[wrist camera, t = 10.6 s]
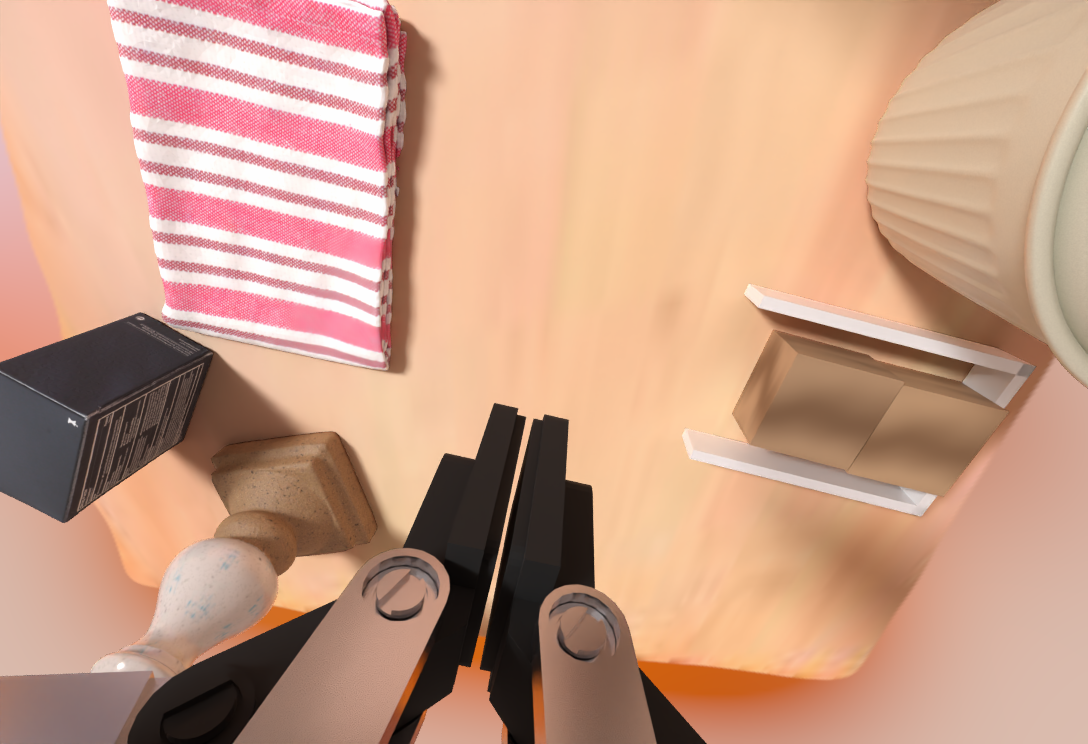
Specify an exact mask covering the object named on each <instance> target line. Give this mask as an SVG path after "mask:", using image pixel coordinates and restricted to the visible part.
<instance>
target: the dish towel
mask: <svg viewBox="0 0 1088 744" xmlns="http://www.w3.org/2000/svg"><path fill="white" fill-rule="evenodd" d="M107 3H108V6H109V10H110V14H111V23H112V28H113V32H114V36H115V39H116V43H117V45H118V49H119V57H120V60H121V65H122V68H123V71H124V74H125V78H126V82H127V86H128V93H129V99H130V106H131V110H130V119H131V124H132V128H133V133H134V144H135V148H136V153H137V157H138V159H139V162H140V170H141V174H142V179H143V182H144V185H145V188H146V193H147V199H148V205H149V213H150V214H149V219H150V227H151V229H152V233H153V241H154V248H155V253H156V256H157V259H158V265H159V269H160V274H161V278H162V280H163V284H164V290H165V297H166V301H165V305H164V308H163V310H162V318H163V320H164V321H165V322H166V323H168V324H169V325H170V326H172V327H174V328H179V329H182V330H189V331H193V332H198V333H202V334H205V335H209V336H214V337H220V338H225V339H228V340H234V341H239V342H243V343H248V344H252V345H258V346H263V347H267V348H271V349H276V350H281V351H285V352H290V353H295V354H300V355H304V356H310V357H313V358H318V359H323V360H328V361H333V362H339V363H344V364H349V365H352V366H360V367H365V368H370V369H375V370H383V371H385V370H388V369H389V362H390V361H389V360H390V356H391V352H390V351H391V334H390V322H391V317H392V311H391V304H392V294H393V293H392V280H393V273H392V240H393V236H394V216H395V208H396V197H395V194H396V196H397V197H398V195H399V187H397V185H396V182H397V181H396V157H397V158H398V157H399V156H400V153H401V150H402V148H403V139H404V133H403V127H404V124H405V120H406V103H405V93H406V79H405V73H404V59H405V54H406V45H407V35H406V32H405V31H400V26H401V20H400V18H399V17H398V13H397V10H396V9H395V7H394V6H393V5H390V4H389V3H388V1H387V0H107ZM397 169H398V171H399V167H398V166H397Z"/></svg>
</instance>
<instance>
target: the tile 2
mask: <svg viewBox="0 0 1088 744" xmlns="http://www.w3.org/2000/svg"><path fill="white" fill-rule="evenodd" d="M876 361H877V360H876ZM877 362H878V363H880V364H881V365H882V366H884V367H885V368H887V369H888V370H889V371H891V372H892V373H893V374H895V375H896V376H898V377H899V378H900V379H902V380H903V381H904V382H905V383H904V385H903V386H902V388H901V389H900V391H899V392H898V394H897V395H896V397H895V398H894V400H893V401H892V403H891V404H890V406H889V407H888V409H887V411H886V412H885V414H884V415H883V417H882V418H881V420H880V421H879V423H878V424H877V426H876V427H875V429H874V430H873V432H872V433H871V435H870V436H869V438H868V440H867V441H866V443H865V444H864V446H863V447H862V449H861V450H860V452H859V453H858V455H857V456H856V458H855V459H854V461H853V462H852V464H851V465H850V467H849V468H848V470H845V471H846V472H847V473H848V474H852V475H856V476H860V477H865V478H869V479H873V480H877V481H881V482H885V483H889V484H893V485H897V486H901V487H905V488H909V489H913V490H917V491H921V492H925V493H929V494H933V495H937V496H942V497H944V496H945V494H946V493H947V492H948V491H949V489H950V488H951V487H952V485H953V484H954V483H955V482H956V480H957V479H958V478H959V476H960V475H961V474H962V472H963V471H964V470H965V469H966V467H967V466H968V465H969V463H970V462H971V461H972V460H973V458H974V457H975V456H976V454H977V453H978V452H979V451H980V449H981V448H982V447H983V445H984V444H985V443H986V442H987V440H988V439H989V438H990V436H991V435H992V434H993V432H994V431H995V430H996V429H997V427H998V426H999V425H1000V423H1001V422H1002V421H1003V420H1004V418H1005V417H1006V416H1007V414H1008V413H1009V412H1008V411H1007V410H1005V409H1004V408H1002V407H1000V406H999V405H997V404H996V403H994V402H992V401H991V400H989V399H987V398H986V397H984V396H983V395H981V394H979V393H978V392H976V391H975V390H973V389H971V388H970V387H968V386H966V385H965V384H963V383H962V382H959V381H955V380H951V379H947V378H943V377H939V376H935V375H932V374H928V373H924V372H920V371H916V370H912V369H908V368H904V367H900V366H896V365H893V364H889V363H885V362H881V361H877Z"/></svg>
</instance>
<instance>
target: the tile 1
mask: <svg viewBox="0 0 1088 744" xmlns="http://www.w3.org/2000/svg"><path fill="white" fill-rule="evenodd" d="M904 383H905V382H904V381H903V380H902V379H900V378H899V377H898V376H896V375H895V374H893V373H892V372H891V371H889V370H888V369H887V368H885V367H884V366H882V365H881V364H880V363H878V362H877V361H876V360H874V359H873V358H871V357H870V356H869V355H866V354H862V353H859V352H855V351H851V350H847V349H844V348H840V347H836V346H833V345H829V344H825V343H821V342H818V341H814V340H810V339H806V338H803V337H799V336H795V335H791V334H788V333H784V332H780V331H777V330H773V331H772V333H771V335H770V337H769V339H768V341H767V343H766V345H765V347H764V349H763V352H762V354H761V356H760V358H759V360H758V362H757V364H756V366H755V368H754V370H753V372H752V374H751V376H750V378H749V380H748V382H747V384H746V386H745V388H744V390H743V392H742V394H741V396H740V398H739V400H738V402H737V404H736V406H735V408H734V411H733V413H732V414H733V416H734V418H735V419H736V421H737V423H738V425H739V427H740V428H741V430H742V432H743V434H744V436H745V437H746V439H747V441H748V443H749V445H752V446H756V447H760V448H763V449H767V450H771V451H775V452H779V453H783V454H786V455H790V456H794V457H798V458H802V459H806V460H809V461H813V462H817V463H821V464H825V465H829V466H833V467H836V468H840V469H844V470H848V468H849V467H850V465H851V464H852V462H853V461H854V459H855V458H856V456H857V455H858V453H859V452H860V450H861V449H862V447H863V446H864V444H865V443H866V441H867V440H868V438H869V436H870V435H871V433H872V432H873V430H874V429H875V427H876V426H877V424H878V423H879V421H880V420H881V418H882V417H883V415H884V414H885V412H886V411H887V409H888V407H889V406H890V404H891V403H892V401H893V400H894V398H895V397H896V395H897V394H898V392H899V391H900V389H901V388H902V386H903V385H904Z"/></svg>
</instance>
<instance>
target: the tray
mask: <svg viewBox="0 0 1088 744" xmlns="http://www.w3.org/2000/svg"><path fill="white" fill-rule="evenodd" d="M744 295H745V296H746V297H747V298H748V299H750V300H751V301H752V302H753V303H754V304H755V305H756V306H757V307H758V308H762V309H765V310H769V311H773V312H777V313H781V314H785V315H788V316H792V317H796V318H800V319H804V320H808V321H812V322H815V323H819V324H823V325H827V326H831V327H835V328H838V329H842V330H846V331H850V332H854V333H858V334H862V335H865V336H869V337H873V338H877V339H881V340H885V341H888V342H892V343H896V344H900V345H904V346H908V347H912V348H915V349H919V350H923V351H927V352H931V353H935V354H938V355H942V356H946V357H950V358H954V359H958V360H962V361H965V362H969V363H973V364H975V365H974V366H973V368H972V369H971V370H970V372H969V373H968V375H967V376H966V377H965V379H964V380H963V382H962V383H963V384H965V385H966V386H968V387H970V388H971V389H973V390H975V391H976V392H978V393H979V394H981V395H983V396H984V397H986V398H987V399H989V400H991V401H992V402H994V403H996V404H997V405H999V406H1000V407H1002V408H1005V407H1006V406H1007V404H1008V403H1009V402H1010V400H1011V399H1012V398H1013V397H1014V395H1015V394H1016V393H1017V391H1018V390H1019V389H1020V387H1021V386H1022V385H1023V384H1024V382H1025V381H1026V380H1027V378H1028V377H1029V376H1030V374H1031V373H1032V372H1033V371H1034V369H1035V368H1036V366H1034V365H1032V364H1030V363H1028V362H1026V361H1024V360H1022V359H1020V358H1017V357H1015V356H1013V355H1011V354H1009V353H1007V352H1005V351H1003V350H1001V349H999V348H995V347H991V346H987V345H983V344H979V343H976V342H972V341H968V340H964V339H960V338H956V337H953V336H949V335H945V334H941V333H937V332H934V331H930V330H926V329H922V328H918V327H914V326H911V325H907V324H903V323H899V322H895V321H891V320H888V319H884V318H880V317H876V316H872V315H868V314H865V313H861V312H857V311H853V310H849V309H846V308H842V307H838V306H834V305H830V304H826V303H823V302H819V301H815V300H811V299H807V298H803V297H800V296H796V295H792V294H788V293H784V292H780V291H777V290H773V289H769V288H765V287H761V286H757V285H754V284H750V283H749V284H748V287H747V289H746V291H745V294H744ZM682 438H683V441H684V444H685V447H686V450H687V453H688V456H689V459H693V460H697V461H701V462H705V463H709V464H713V465H717V466H721V467H725V468H729V469H733V470H737V471H741V472H745V473H749V474H753V475H757V476H761V477H765V478H769V479H773V480H777V481H781V482H785V483H789V484H793V485H797V486H801V487H805V488H809V489H813V490H817V491H821V492H825V493H829V494H833V495H837V496H841V497H845V498H849V499H853V500H857V501H861V502H865V503H869V504H873V505H877V506H881V507H885V508H889V509H893V510H897V511H901V512H905V513H909V514H913V515H917V516H922V515H923V514H924V512H925V511H926V510H927V508H928V507H929V506H930V505H931V503H932V502H933V501H934V499H935V498H936V497H937V495H933V494H929V493H925V492H921V491H917V490H913V489H909V488H905V487H901V486H897V485H893V484H889V483H885V482H881V481H877V480H873V479H869V478H865V477H860V476H856V475H852V474H848V473H847V472H846V471H845V470H844V469H840V468H836V467H833V466H829V465H825V464H821V463H817V462H813V461H809V460H806V459H802V458H798V457H794V456H790V455H786V454H783V453H779V452H775V451H771V450H767V449H763V448H760V447H756V446H752V445H749V444H748V443H744V442H740V441H736V440H732V439H728V438H724V437H720V436H716V435H712V434H708V433H704V432H700V431H696V430H692V429H688V428H685V431H684V433H683V435H682Z"/></svg>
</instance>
